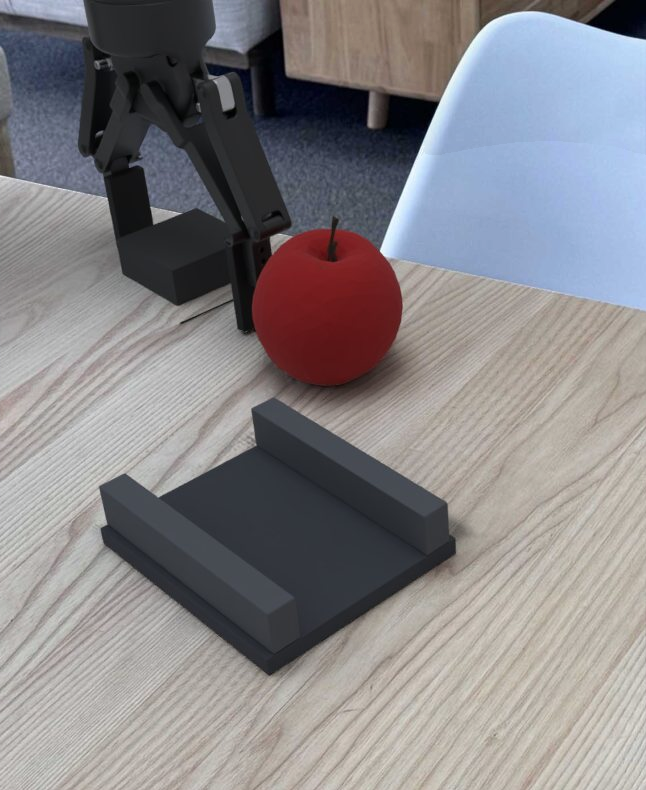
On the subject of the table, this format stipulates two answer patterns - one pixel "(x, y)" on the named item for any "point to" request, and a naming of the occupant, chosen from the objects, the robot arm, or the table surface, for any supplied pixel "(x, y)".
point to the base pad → (281, 537)
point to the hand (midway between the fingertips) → (196, 289)
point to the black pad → (178, 257)
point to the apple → (327, 306)
